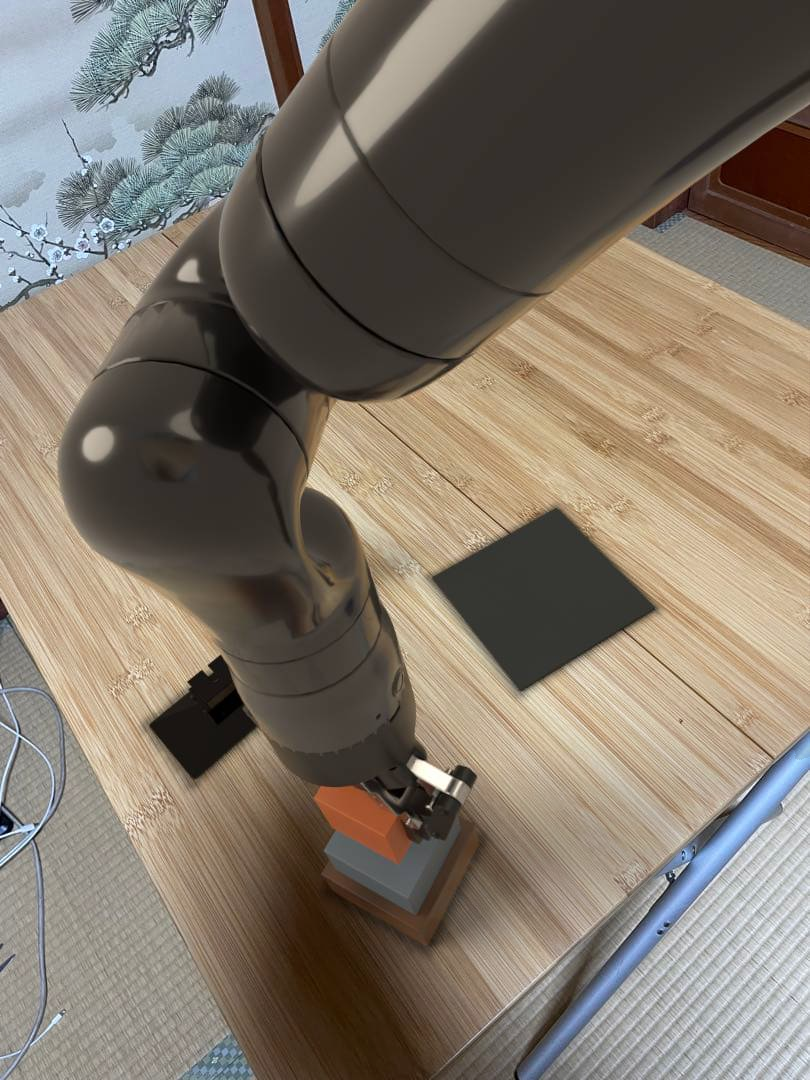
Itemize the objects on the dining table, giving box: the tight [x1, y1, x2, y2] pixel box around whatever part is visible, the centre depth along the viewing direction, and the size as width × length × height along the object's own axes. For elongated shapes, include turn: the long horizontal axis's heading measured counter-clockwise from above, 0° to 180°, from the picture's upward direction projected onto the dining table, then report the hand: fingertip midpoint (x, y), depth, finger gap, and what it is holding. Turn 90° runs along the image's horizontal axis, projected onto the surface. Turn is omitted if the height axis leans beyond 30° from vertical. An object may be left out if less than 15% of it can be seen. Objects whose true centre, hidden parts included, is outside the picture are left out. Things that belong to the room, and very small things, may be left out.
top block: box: [313, 760, 430, 864], centre depth 51 cm, size 5×5×5 cm
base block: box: [320, 815, 480, 947], centre depth 60 cm, size 8×8×4 cm
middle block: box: [323, 817, 461, 915], centre depth 56 cm, size 6×6×4 cm
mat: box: [431, 507, 656, 692], centre depth 74 cm, size 14×14×1 cm
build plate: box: [149, 653, 258, 780], centre depth 70 cm, size 12×7×5 cm, turn 133°
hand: (383, 806), depth 52 cm, fingers closed on top block, 5 cm apart
